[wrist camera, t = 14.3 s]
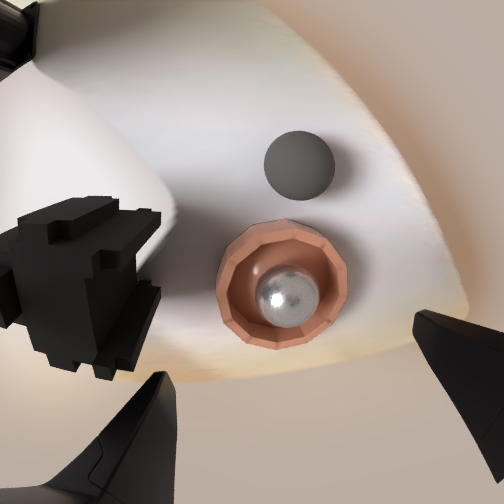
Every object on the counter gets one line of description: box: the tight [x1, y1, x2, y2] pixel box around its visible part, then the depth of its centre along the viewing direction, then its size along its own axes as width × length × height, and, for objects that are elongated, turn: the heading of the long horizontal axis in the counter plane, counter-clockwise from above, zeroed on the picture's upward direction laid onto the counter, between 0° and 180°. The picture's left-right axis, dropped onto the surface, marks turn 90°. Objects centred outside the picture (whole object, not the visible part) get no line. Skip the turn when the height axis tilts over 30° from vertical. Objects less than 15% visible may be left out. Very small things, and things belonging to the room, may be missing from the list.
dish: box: [216, 219, 347, 350], centre depth 19 cm, size 8×8×2 cm
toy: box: [0, 196, 161, 381], centre depth 11 cm, size 8×14×10 cm
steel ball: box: [254, 263, 320, 328], centre depth 17 cm, size 4×4×4 cm
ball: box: [264, 131, 335, 201], centre depth 15 cm, size 4×4×4 cm
